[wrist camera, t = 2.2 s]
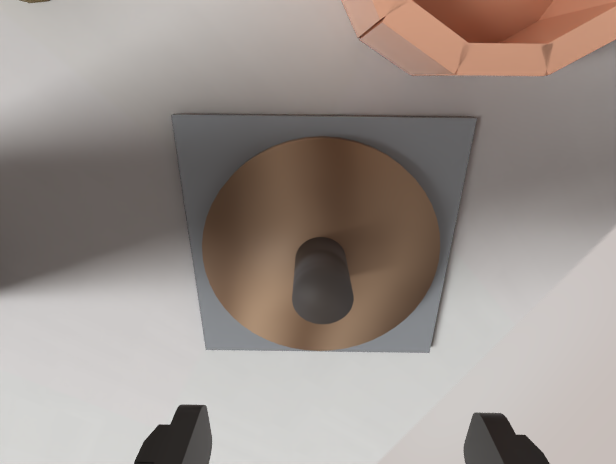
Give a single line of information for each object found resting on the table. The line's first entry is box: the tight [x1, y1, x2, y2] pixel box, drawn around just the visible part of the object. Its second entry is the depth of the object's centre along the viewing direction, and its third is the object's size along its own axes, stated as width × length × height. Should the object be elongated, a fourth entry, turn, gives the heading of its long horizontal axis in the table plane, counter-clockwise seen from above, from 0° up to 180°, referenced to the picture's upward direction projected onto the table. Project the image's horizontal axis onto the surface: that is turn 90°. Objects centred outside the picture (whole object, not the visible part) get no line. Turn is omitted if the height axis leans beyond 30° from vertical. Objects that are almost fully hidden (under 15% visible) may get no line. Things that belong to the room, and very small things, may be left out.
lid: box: [202, 136, 440, 351], centre depth 19 cm, size 14×14×5 cm
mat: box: [171, 114, 477, 353], centre depth 21 cm, size 16×16×1 cm
